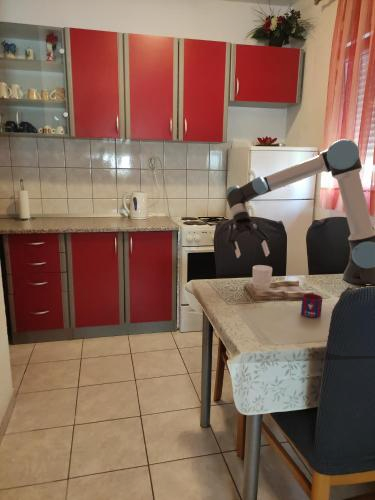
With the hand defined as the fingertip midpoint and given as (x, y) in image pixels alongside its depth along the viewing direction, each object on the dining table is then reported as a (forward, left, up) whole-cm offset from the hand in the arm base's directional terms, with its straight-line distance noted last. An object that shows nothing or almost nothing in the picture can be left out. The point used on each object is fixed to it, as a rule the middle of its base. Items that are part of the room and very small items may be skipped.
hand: (253, 255), depth 156 cm
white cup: (-2, +8, -13) cm, 16 cm away
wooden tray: (-9, +8, -14) cm, 18 cm away
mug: (-14, +30, -14) cm, 36 cm away
